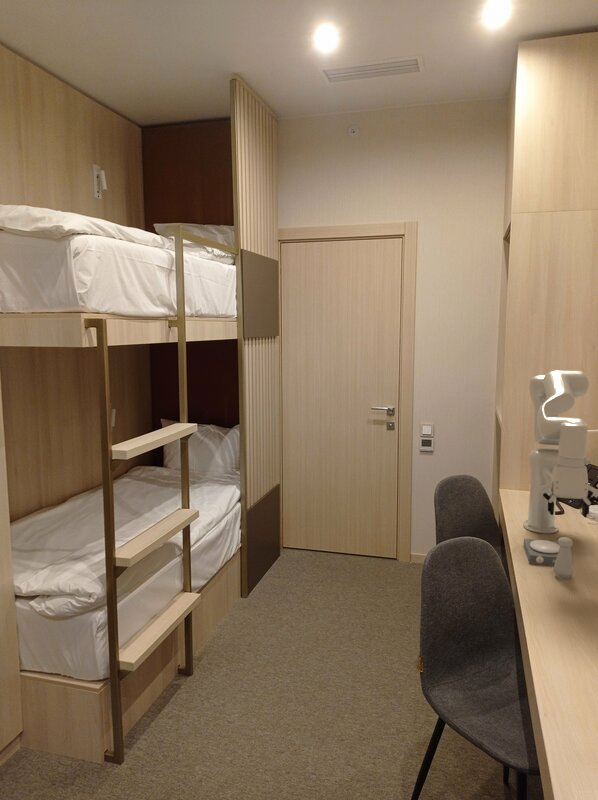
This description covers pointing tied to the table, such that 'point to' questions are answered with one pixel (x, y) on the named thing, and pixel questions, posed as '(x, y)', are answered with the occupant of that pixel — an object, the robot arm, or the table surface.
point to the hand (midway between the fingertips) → (567, 514)
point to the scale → (541, 551)
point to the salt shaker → (564, 559)
